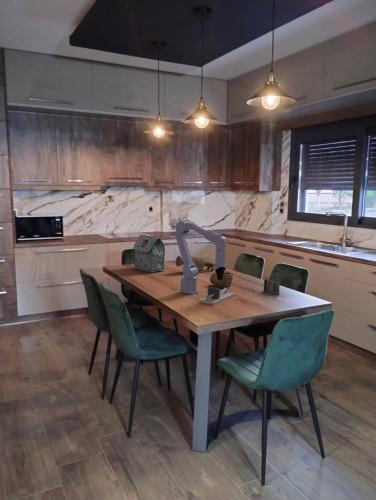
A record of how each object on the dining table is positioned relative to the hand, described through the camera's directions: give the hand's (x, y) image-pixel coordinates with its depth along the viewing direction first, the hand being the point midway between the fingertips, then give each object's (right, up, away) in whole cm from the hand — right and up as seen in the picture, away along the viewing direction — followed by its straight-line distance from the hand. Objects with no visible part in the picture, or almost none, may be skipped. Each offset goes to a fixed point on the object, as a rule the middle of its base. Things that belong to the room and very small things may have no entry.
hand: (219, 279), depth 233 cm
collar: (-4, -10, -6) cm, 12 cm away
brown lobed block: (+3, -7, +25) cm, 26 cm away
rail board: (-2, -11, -2) cm, 11 cm away
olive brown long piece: (-13, +1, +69) cm, 70 cm away
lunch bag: (-49, +2, +72) cm, 87 cm away
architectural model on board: (+33, -10, +13) cm, 37 cm away
